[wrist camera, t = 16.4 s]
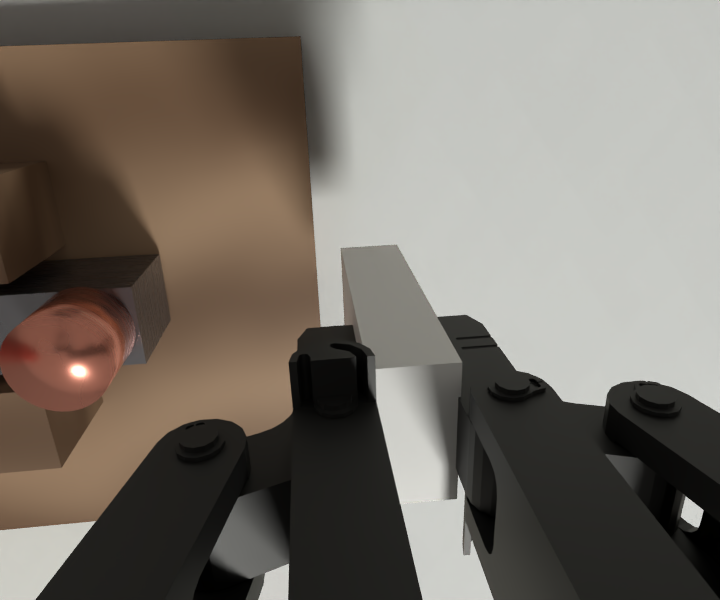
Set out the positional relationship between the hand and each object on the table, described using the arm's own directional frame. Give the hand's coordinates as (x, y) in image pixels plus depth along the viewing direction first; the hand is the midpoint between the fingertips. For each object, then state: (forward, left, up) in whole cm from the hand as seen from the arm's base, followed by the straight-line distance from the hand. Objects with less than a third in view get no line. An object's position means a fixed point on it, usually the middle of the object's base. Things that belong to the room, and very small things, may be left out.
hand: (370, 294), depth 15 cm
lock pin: (0, -11, -3) cm, 11 cm away
